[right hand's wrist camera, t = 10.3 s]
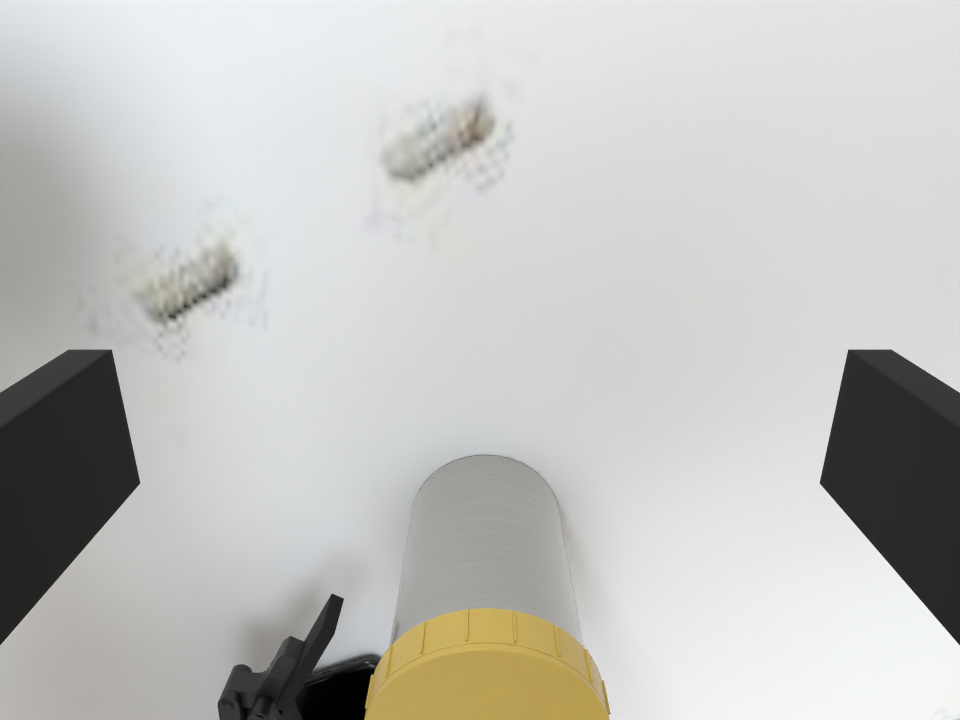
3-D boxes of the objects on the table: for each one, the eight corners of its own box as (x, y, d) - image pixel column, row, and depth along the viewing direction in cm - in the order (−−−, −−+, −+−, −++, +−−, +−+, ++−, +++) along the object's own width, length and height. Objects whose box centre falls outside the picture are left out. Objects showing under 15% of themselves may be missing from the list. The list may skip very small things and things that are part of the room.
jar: (383, 496, 42) (332, 706, 27) (514, 429, 40) (531, 617, 26) (460, 599, 45) (449, 838, 30) (584, 541, 43) (635, 765, 29)
